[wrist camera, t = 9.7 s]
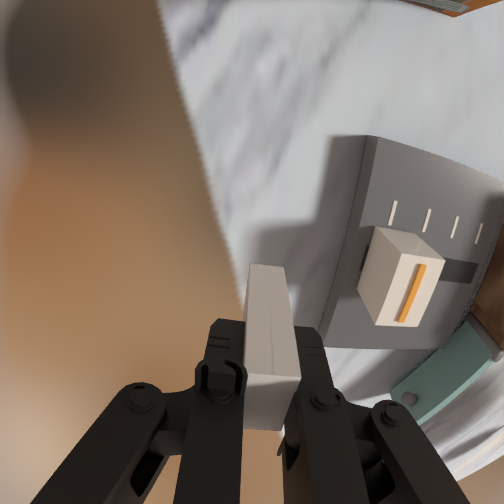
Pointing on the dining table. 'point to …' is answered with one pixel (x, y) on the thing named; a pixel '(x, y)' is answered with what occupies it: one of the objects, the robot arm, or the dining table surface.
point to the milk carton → (452, 5)
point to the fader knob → (398, 277)
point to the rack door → (448, 370)
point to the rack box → (492, 295)
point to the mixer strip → (425, 227)
